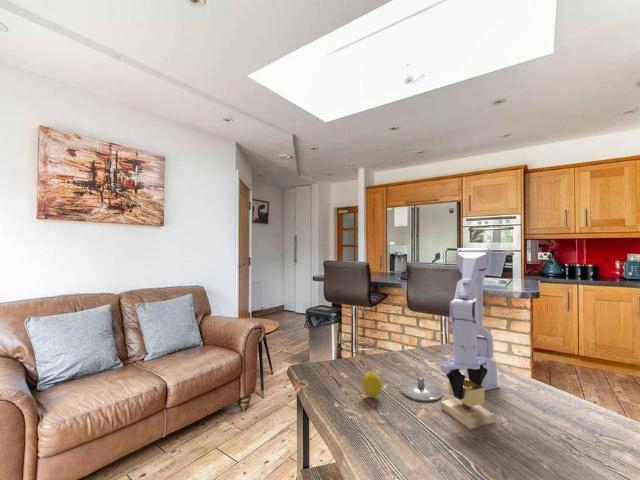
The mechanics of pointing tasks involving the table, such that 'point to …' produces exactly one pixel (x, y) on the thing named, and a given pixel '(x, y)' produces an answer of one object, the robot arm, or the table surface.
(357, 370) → the table surface
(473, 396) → the gold open box
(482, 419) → the stand
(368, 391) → the lemon
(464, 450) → the table surface
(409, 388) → the hub
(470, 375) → the robot arm
